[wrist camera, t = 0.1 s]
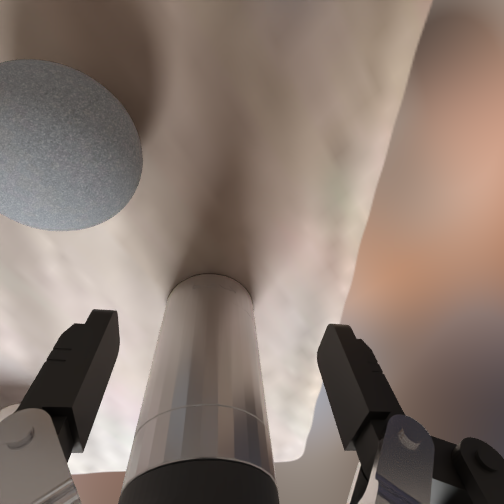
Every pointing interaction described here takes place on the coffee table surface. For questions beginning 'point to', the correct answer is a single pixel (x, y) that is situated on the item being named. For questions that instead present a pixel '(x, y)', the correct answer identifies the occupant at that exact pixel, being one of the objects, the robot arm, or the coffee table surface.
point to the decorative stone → (63, 148)
